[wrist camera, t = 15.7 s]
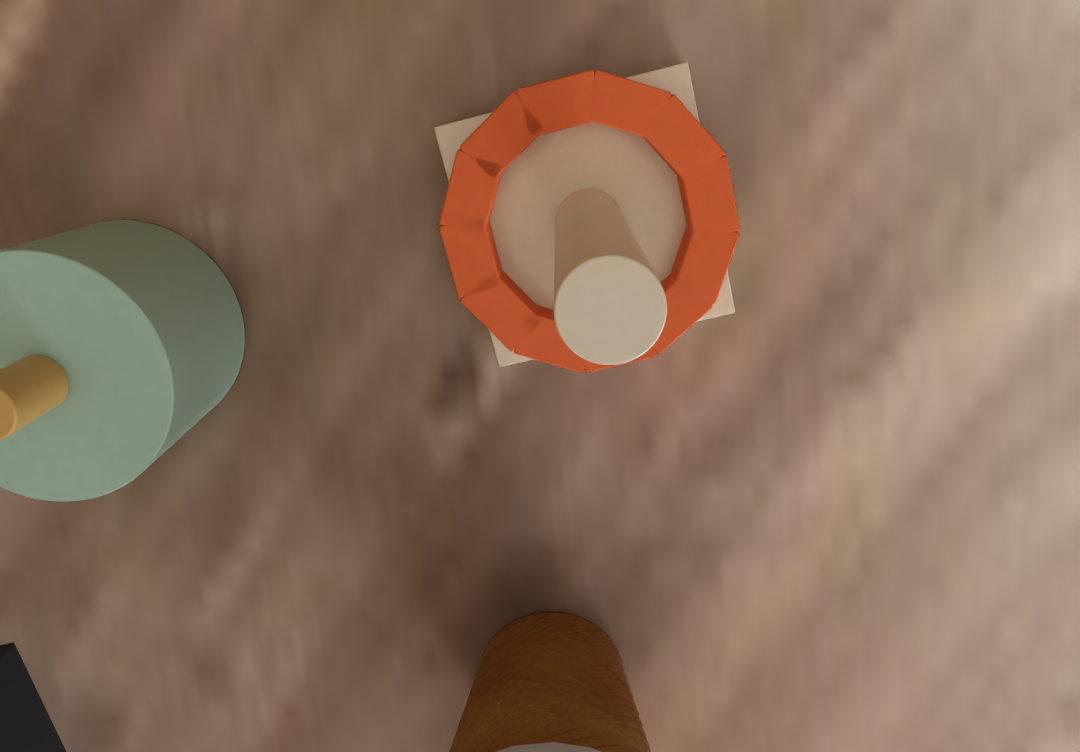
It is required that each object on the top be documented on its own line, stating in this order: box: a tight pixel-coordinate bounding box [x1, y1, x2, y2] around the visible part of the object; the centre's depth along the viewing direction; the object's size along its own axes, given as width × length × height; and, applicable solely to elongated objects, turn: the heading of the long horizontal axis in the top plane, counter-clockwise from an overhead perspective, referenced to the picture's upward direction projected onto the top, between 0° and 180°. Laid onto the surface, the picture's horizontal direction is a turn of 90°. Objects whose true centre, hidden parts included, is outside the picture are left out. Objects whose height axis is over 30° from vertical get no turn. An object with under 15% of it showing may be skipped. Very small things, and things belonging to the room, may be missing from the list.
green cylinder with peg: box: [0, 220, 245, 501], centre depth 31 cm, size 8×8×10 cm
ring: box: [439, 70, 740, 373], centre depth 32 cm, size 10×10×2 cm
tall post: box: [434, 62, 735, 367], centre depth 27 cm, size 9×9×16 cm
